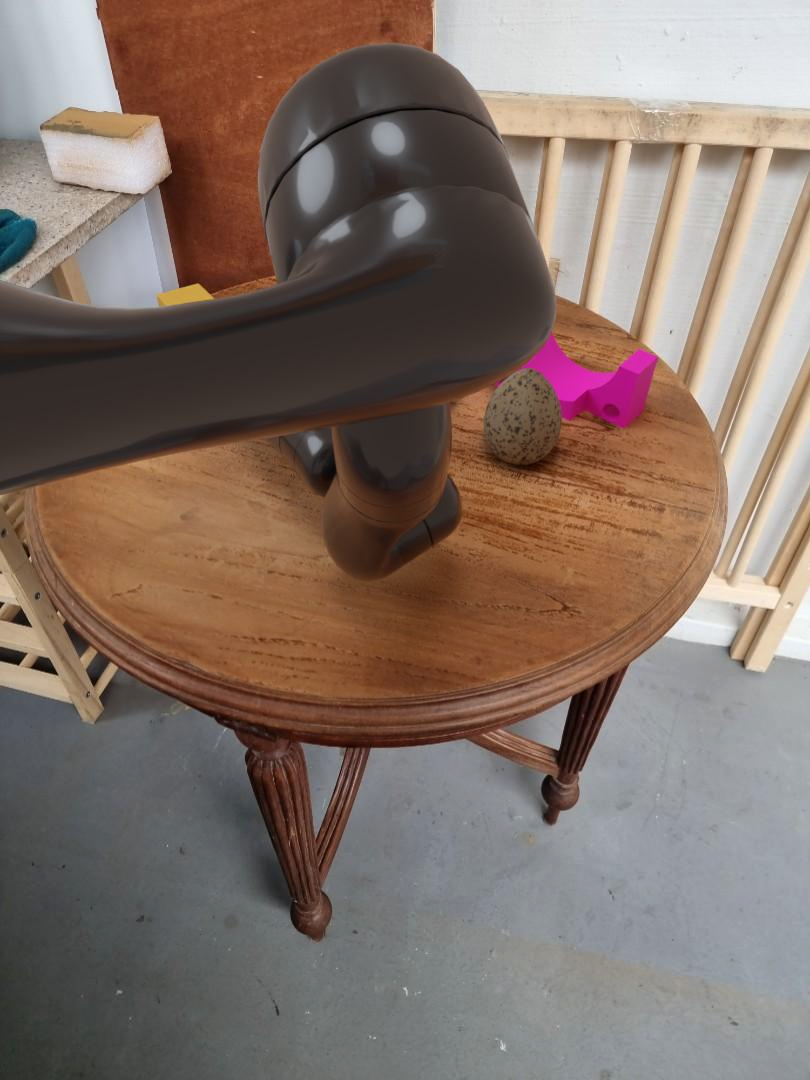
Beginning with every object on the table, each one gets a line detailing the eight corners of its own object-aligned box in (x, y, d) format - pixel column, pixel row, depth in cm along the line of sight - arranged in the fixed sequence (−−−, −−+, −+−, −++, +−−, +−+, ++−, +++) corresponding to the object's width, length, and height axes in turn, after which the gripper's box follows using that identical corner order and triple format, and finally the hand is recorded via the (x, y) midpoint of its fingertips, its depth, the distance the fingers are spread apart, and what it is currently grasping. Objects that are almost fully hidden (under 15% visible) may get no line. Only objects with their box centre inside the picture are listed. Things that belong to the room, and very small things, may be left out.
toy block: (485, 389, 82) (491, 327, 77) (519, 363, 86) (527, 302, 80) (608, 449, 76) (624, 386, 70) (640, 419, 79) (658, 356, 73)
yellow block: (190, 332, 79) (155, 294, 86) (201, 375, 82) (166, 335, 89) (236, 319, 81) (198, 282, 88) (244, 362, 84) (207, 323, 91)
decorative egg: (565, 447, 76) (582, 361, 69) (538, 491, 72) (553, 404, 64) (498, 425, 78) (507, 339, 71) (468, 467, 74) (475, 380, 67)
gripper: (357, 344, 67) (270, 261, 77) (214, 393, 62) (141, 298, 72) (360, 413, 73) (279, 327, 83) (229, 463, 68) (160, 366, 78)
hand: (215, 314), depth 77 cm, fingers closed
